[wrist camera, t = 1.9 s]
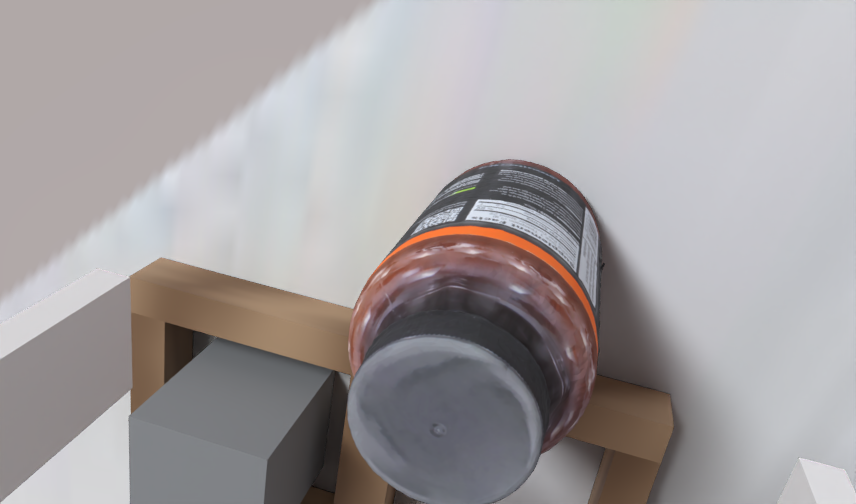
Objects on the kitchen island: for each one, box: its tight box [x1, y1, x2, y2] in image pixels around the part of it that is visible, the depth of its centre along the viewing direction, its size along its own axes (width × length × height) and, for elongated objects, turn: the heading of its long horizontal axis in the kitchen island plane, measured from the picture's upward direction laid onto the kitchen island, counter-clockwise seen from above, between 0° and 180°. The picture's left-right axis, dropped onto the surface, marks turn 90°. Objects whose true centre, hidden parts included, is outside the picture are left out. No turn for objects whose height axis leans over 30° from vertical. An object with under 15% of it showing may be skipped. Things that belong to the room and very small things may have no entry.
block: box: [129, 337, 335, 504], centre depth 26 cm, size 5×5×6 cm
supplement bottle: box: [347, 159, 605, 504], centre depth 19 cm, size 6×6×11 cm
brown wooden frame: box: [129, 258, 674, 504], centre depth 27 cm, size 20×10×2 cm, turn 81°
